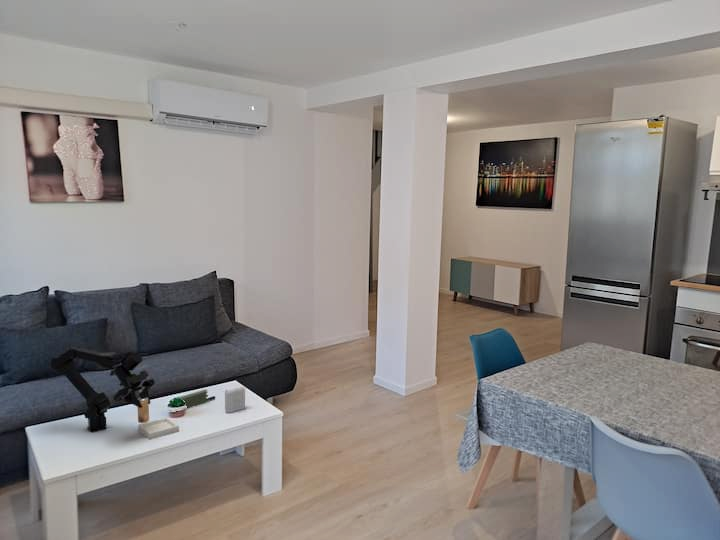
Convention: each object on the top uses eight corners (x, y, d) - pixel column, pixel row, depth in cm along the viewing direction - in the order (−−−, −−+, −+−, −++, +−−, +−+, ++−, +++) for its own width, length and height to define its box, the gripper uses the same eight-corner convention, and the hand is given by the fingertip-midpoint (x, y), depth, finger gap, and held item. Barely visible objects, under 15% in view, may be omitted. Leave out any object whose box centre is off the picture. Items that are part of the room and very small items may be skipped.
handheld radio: (169, 412, 258) (212, 398, 277) (173, 414, 256) (216, 400, 275) (169, 399, 257) (212, 386, 276) (173, 401, 255) (216, 388, 274)
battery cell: (141, 423, 226) (140, 401, 225) (136, 421, 229) (135, 398, 228) (151, 420, 230) (150, 398, 228) (145, 418, 232) (144, 396, 231)
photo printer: (241, 406, 266) (241, 382, 265) (246, 408, 263) (246, 384, 262) (223, 411, 259) (223, 387, 258) (228, 414, 256) (227, 389, 255)
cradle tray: (149, 439, 227) (149, 433, 226) (138, 429, 236) (138, 424, 236) (178, 431, 235) (178, 425, 235) (167, 422, 245) (166, 417, 245)
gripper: (117, 372, 220) (137, 401, 217) (151, 360, 237) (171, 388, 233) (104, 387, 224) (124, 417, 221) (139, 375, 241) (158, 402, 238)
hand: (145, 405), depth 228 cm, fingers closed on battery cell, 4 cm apart
